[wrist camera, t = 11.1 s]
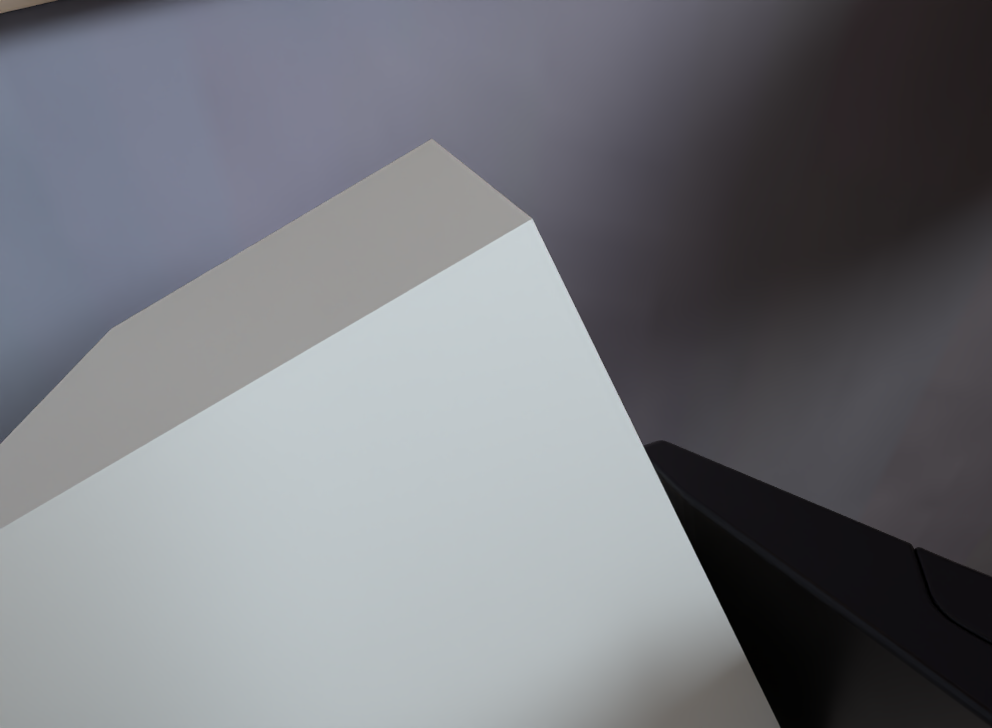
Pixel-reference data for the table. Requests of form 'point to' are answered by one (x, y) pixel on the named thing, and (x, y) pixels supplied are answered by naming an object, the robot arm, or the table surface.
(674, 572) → the light grey rectangular block
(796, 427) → the table surface
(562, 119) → the table surface
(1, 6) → the jig
